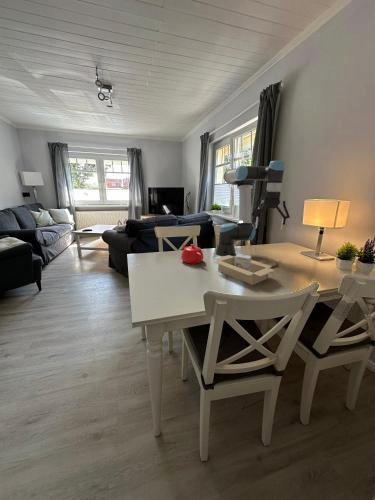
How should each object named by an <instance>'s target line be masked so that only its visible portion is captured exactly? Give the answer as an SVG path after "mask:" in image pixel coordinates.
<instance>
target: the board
mask: <svg viewBox="0 0 375 500" xmlns="http://www.w3.org/2000/svg"><path fill="white" fill-rule="evenodd" d="M253 261H257V262H260V263H263V264H266V265H269V266H272V267H271V268H270V269H273V268H275V267H278V266H279V263H277V262H273V261H269V260H266V259H264V258H257V259H253Z"/></svg>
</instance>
